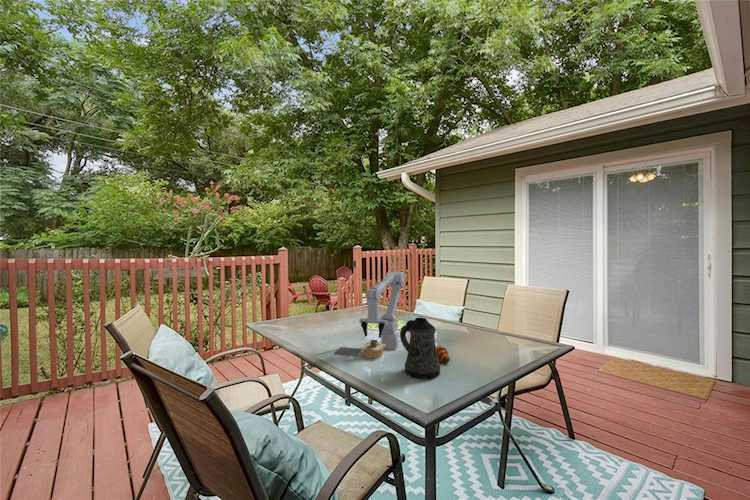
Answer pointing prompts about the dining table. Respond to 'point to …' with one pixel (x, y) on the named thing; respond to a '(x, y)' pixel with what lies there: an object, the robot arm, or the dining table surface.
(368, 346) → the lid
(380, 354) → the bowl
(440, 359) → the croissant
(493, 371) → the dining table surface
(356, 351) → the mat
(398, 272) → the robot arm
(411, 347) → the beer stein
